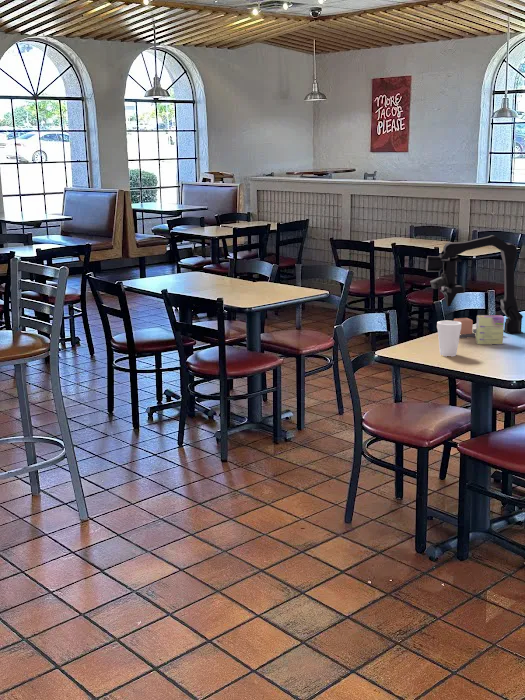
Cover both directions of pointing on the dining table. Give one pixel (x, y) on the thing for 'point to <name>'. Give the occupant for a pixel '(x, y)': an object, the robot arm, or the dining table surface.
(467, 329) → the terracotta block
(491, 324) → the box
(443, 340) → the foam cup
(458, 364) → the dining table surface
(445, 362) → the dining table surface
